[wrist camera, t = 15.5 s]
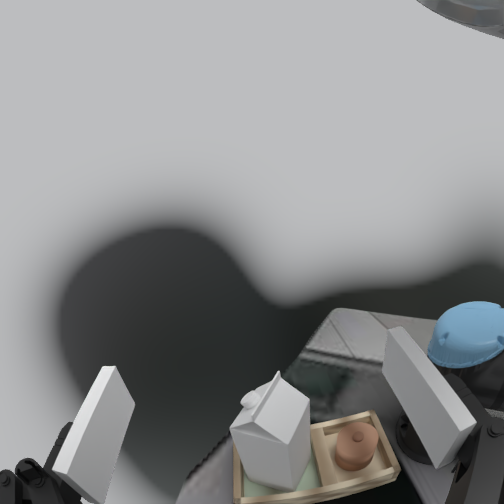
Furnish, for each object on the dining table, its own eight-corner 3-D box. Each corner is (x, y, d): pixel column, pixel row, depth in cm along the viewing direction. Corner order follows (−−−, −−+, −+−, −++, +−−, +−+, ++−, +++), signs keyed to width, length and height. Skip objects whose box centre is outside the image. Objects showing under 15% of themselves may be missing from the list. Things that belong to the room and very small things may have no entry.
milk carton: (311, 458, 36) (309, 375, 30) (293, 494, 30) (285, 423, 24) (268, 448, 39) (251, 365, 33) (248, 481, 33) (220, 406, 27)
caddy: (370, 423, 41) (376, 396, 39) (395, 480, 29) (406, 458, 26) (237, 447, 41) (229, 423, 39) (238, 512, 29) (228, 495, 27)
